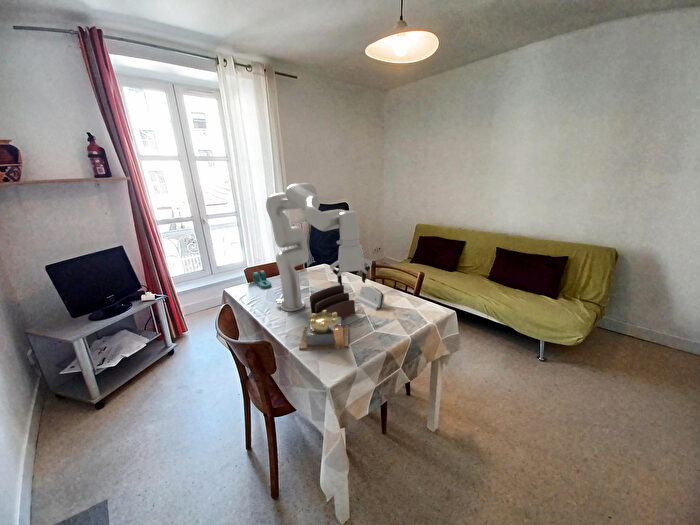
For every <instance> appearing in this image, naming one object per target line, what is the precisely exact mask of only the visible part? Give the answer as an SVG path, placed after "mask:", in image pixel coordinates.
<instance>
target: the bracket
mask: <svg viewBox="0 0 700 525" xmlns="http://www.w3.org/2000/svg"><path fill="white" fill-rule="evenodd" d="M252 280H253V283H254V284H255V285H256V286H258V287H259V288H260V289H262V290H268V289H270V288H271V287H272V282H270V281H269V280H268V279H267V275H266V272H265V270H262V269H261V270H259V271H255V272H252Z"/></svg>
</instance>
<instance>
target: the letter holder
mask: <svg viewBox="0 0 700 525" xmlns="http://www.w3.org/2000/svg"><path fill="white" fill-rule="evenodd" d="M355 303H356V302H355V299H350V293H349V292H345V286H344V285H343V284H342V285H340V284H339V285H333V286H330V287H327V288H323V289H321V290H319V291H316V292H314V293H312V294H311V295H310V296H309V304H310V313H311V314H312V313H315V314H317V313H321V312H323V310H326V311H327V312H331V313H334V312H336V313H337V316H338V317H341V320H343V319H346V318H347V317H350V316H352V315H355V314H356V304H355ZM311 314H310V315H311Z"/></svg>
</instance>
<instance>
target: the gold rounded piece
mask: <svg viewBox="0 0 700 525" xmlns="http://www.w3.org/2000/svg"><path fill="white" fill-rule="evenodd" d="M309 321H310V328H311V329H312V330H313V331H315V332H319V333H325V332H330V331H331V332H332V333H333V334H334V345H335V348H334V349H335V350H342V349H344V348H343V347H344V340H343V328H342V327H341V326H338V316H337V313H336V312H334V313H331V312H327V311H326V310H323V312H321V313H317V314H315V313H312V314H310V317H309Z"/></svg>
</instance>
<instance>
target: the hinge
mask: <svg viewBox="0 0 700 525" xmlns="http://www.w3.org/2000/svg"><path fill="white" fill-rule="evenodd" d="M355 301H356V302H358V303H360V304H363V305H364V306H366V307H368V308H371V310H372V309H373V310H374V311H377V309H378V308H379V309H381V308H383V307H384V304H385V303H384V302H385V293H384V292H382V291H381V290H380V289H378V288H376V287H373V286H370V285H369V286H368V285H366V286H365V285H364V286H361V287H360V290H359V294H358V296H357V297H356V299H355Z"/></svg>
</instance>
